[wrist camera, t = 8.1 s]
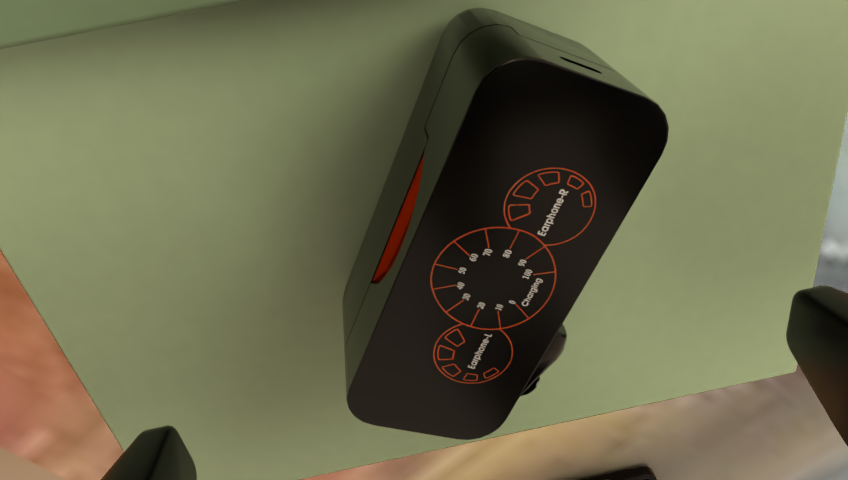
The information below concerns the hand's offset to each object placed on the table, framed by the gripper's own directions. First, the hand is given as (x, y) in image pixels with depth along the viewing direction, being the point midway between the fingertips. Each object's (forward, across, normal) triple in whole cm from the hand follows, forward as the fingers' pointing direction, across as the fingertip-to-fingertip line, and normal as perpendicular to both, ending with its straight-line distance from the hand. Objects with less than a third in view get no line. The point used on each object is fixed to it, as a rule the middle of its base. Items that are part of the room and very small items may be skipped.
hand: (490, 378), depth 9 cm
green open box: (+10, 0, 0) cm, 10 cm away
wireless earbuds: (+4, -1, 0) cm, 4 cm away
